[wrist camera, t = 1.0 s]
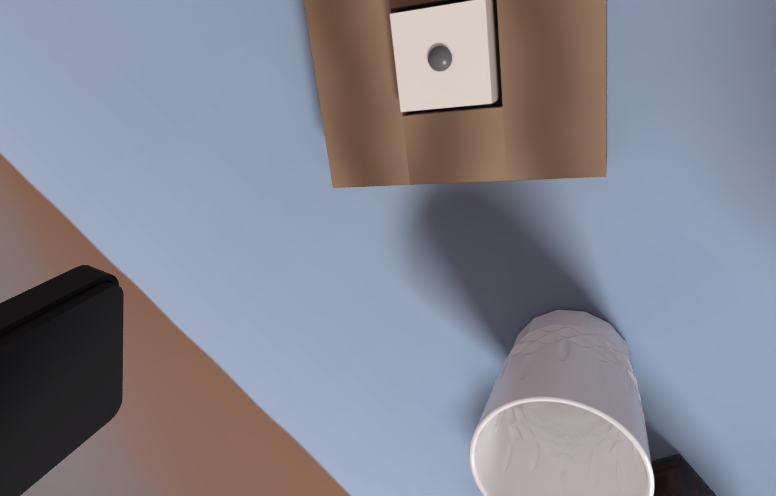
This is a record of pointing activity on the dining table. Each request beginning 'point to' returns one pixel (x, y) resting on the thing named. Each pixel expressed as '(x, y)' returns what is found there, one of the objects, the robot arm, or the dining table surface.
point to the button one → (447, 55)
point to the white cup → (564, 415)
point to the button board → (466, 123)
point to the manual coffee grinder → (677, 478)
